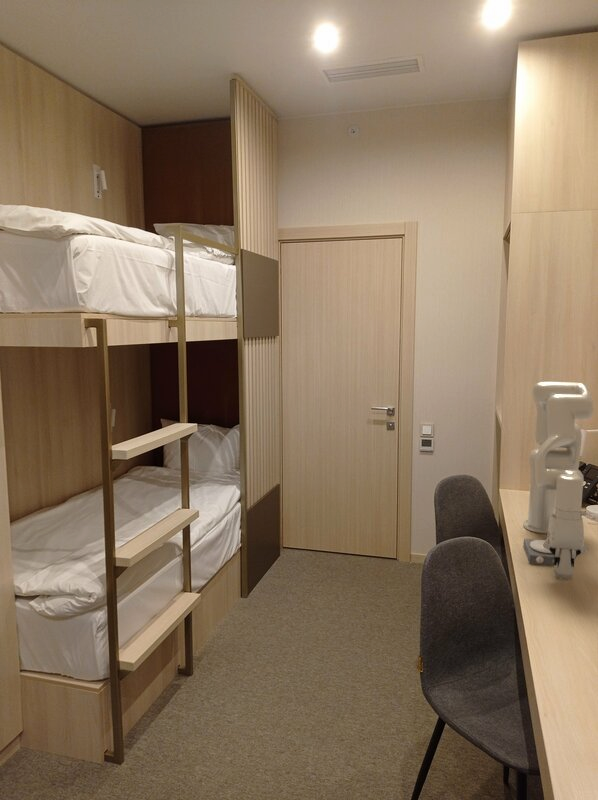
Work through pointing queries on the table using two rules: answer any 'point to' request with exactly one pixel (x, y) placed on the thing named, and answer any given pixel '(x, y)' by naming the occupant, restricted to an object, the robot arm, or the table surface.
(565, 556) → the salt shaker
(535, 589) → the table surface
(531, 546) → the scale
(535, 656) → the table surface
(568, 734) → the table surface
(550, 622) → the table surface
